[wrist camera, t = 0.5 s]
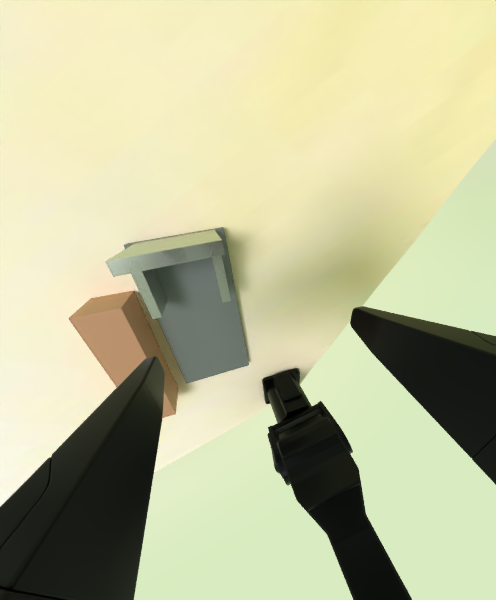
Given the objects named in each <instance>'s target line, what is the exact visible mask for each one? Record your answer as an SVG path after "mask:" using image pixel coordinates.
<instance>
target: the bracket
mask: <svg viewBox="0 0 496 600" xmlns="http://www.w3.org/2000/svg"><path fill="white" fill-rule="evenodd" d="M222 255H225V253H224V248H223V242H222V239H221V238H220V237H219V235H218V234H217V233H216V231H215V230H210V231H204V232H199V233H193V234H187V235H181V236H175V237H170V238H164V239H158V240H152V241H146V242H141V243H135V244H133V245H131V246H130V247H128V248H126V249H125V250H123V251H121V252H120V253H118V254H117V255H115V256H113V257H112V258H110V259H108V260H107V261H105V262H106V264H107V266H108V267H109V269H110V271H111V273H112V275H113V277H114V276H119V275H124V274H129V273H131V274H132V277H133V279H134V281H135V283H136V285H137V287H138V289H139V291H140V293H141V296H142V298H143V300H144V302H145V304H146V306H147V308H148V310H149V312H150V315H151V317H152V319H156V318H161V317H162V316H163V313H164V309H165V306H166V303H167V297H166V295H165V292H164V290H163V287H162V285H161V282H160V280H159V277H158V275H157V272H156V270H155V268H160V267H165V266H170V265H175V264H181V263H186V262H191V261H196V260H201V259H206V258H211V257H212V261H213V266H214V270H215V274H216V279H217V283H218V287H219V291H220V295H221V299H222V302H223V303H224V302H228V301H231V299H230V294H229V289H228V284H227V279H226V274H225V269H224V264H223V259H222Z"/></svg>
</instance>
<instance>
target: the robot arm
mask: <svg viewBox="0 0 496 600" xmlns="http://www.w3.org/2000/svg"><path fill="white" fill-rule="evenodd" d="M350 324H351V327H352V328H353V329H354V331H355V332H356V333H357V334H358V336H359V337H360V338H361V340H362V341H363V342H364V343H365V344H366V346H367V347H368V348H369V350H370V351H371V352H372V353H373V354H374V355H375V356H376V358H377V359H378V360H379V361H380V362H381V363H382V364H383V365H384V366H385V367H386V368H387V369H388V370H389V371H390V372H391V373H392V374H393V376H394V377H395V378H396V379H397V380H398V381H399V382H400V383H401V384H402V385H403V386H404V387H405V388H406V389H407V391H408V392H409V393H410V394H411V395H412V396H413V397H414V398H415V399H416V400H417V401H418V402H419V403H420V404H421V405H422V406H423V408H424V409H426V411H427V412H428V413H429V414H430V415H431V416H432V417H433V418H434V419H435V420H436V421H437V422H438V423H439V424H440V426H441V427H442V428H443V429H444V430H445V431H446V432H447V433H448V434H449V435H450V436H451V437H452V438H453V439H454V440H455V441H456V442H457V444H458V445H459V446H460V447H461V448H462V449H463V450H464V451H465V452H466V453H467V454H468V455H469V456H470V457H471V458H472V460H473V461H474V462H475V463H476V464H477V465H478V466H479V467H480V468H481V469H482V470H483V471H484V472H485V474H486V475H487V476H488V477H489V478H490V479H491V480H492V481H493V482H494V483H495V484H496V336H492V335H487V334H483V333H479V332H474V331H469V330H465V329H461V328H456V327H452V326H447V325H443V324H439V323H434V322H429V321H425V320H421V319H416V318H412V317H407V316H403V315H398V314H394V313H390V312H386V311H381V310H377V309H372V308H367V307H363V306H362V307H357V308H354V309H353V311H352V316H351V321H350ZM164 380H165V374H164V370H163V367H162V365H161V363H160V361H159V359H158V357H156V356H154V357H149V358H146V359H144V360H143V361H142V362H141V363H140V364H139V366H138V367H137V368H136V369H135V370H134V371H133V372H132V373H131V374H130V375H129V376H128V377H127V378H126V379H125V380H124V381H123V382H122V383H121V384H120V385H119V386H118V387H117V388H116V389H115V390H114V391H113V392H112V393H111V394H110V395H109V396H108V397H107V398H106V399H105V401H104V402H103V403H102V404H101V405H100V406H99V407H98V408H97V409H96V410H95V411H94V412H93V413H92V414H91V415H90V416H89V417H88V418H87V419H86V420H85V421H84V422H83V423H82V424H81V425H80V426H79V427H78V428H77V429H76V430H75V431H74V432H73V433H72V434H71V436H70V437H69V438H68V439H67V440H66V441H65V442H64V443H63V444H62V445H61V446H60V447H59V448H58V449H57V450H56V451H55V452H54V453H53V454H52V457H50V458H48V459H47V460H46V461H45V462H44V463H43V464H42V465H41V466H40V467H39V468H38V469H37V470H36V471H35V472H34V473H33V475H32V476H31V477H30V478H29V479H28V480H27V481H26V482H25V483H24V484H23V485H22V486H21V487H20V488H19V489H18V490H17V491H16V492H15V493H14V494H13V495H12V496H11V497H10V498H9V499H8V500H7V501H6V502H5V503H4V504H3V505H2V506H1V507H0V600H134V594H135V587H136V581H137V575H138V569H139V562H140V556H141V550H142V543H143V537H144V530H145V524H146V518H147V512H148V505H149V499H150V493H151V486H152V479H153V474H154V467H155V461H156V455H157V449H158V442H159V436H160V430H161V423H162V416H163V402H164ZM299 380H300V371H299V370H298V369H293V370H290V371H287V372H284V373H281V374H277V375H274V376H271V377H268V378H265V379H263V380H262V383H263V390H264V397H265V402H266V404H271V406H272V409H273V412H274V414H275V417H276V420H277V422H278V423H277V424H275V425H273V426H270V427H268V429H269V433H268V438H269V442H270V445H271V449H272V455H273V460H274V466H275V469H276V471H277V472H278V473H280V474H281V476H282V477H283V479H284V481H285V483H286V484H287V485H290V484H291V486H292V488H293V491H294V494H295V497H296V499H297V501H298V502H299V503H300V504H301V506H302V507H303V508H304V509H305V510H306V511H307V512H308V513H309V515H310V516H311V517H312V518H313V519H314V520H315V521H316V522H317V523H318V525H319V526H320V527H321V528H322V529H323V530H324V531H325V532H326V534H327V535H328V537H329V540H330V542H331V545H332V547H333V550H334V552H335V555H336V557H337V560H338V562H339V565H340V567H341V570H342V572H343V575H344V577H345V579H346V582H347V585H348V587H349V590H350V592H351V595H352V597H353V600H412V599H411V597H410V595H409V593H408V591H407V589H406V588H405V586H404V584H403V582H402V580H401V579H400V576H399V575H398V573H397V571H396V569H395V567H394V565H393V564H392V562H391V560H390V558H389V556H388V554H387V553H386V551H385V549H384V547H383V545H382V543H381V542H380V540H379V538H378V536H377V534H376V532H375V531H374V528H373V527H372V525H371V523H370V521H369V520H368V517H367V515H366V513H365V506H364V500H363V493H362V487H361V481H360V475H359V469H358V467H357V465H356V464H355V462H354V460H353V458H352V457H351V455H350V454H351V453H352V452H353V451H352V448H351V446H350V444H349V442H348V440H347V438H346V436H345V435H344V433H343V431H342V430H341V428H340V426H339V425H338V424H337V422H336V421H335V419H334V418H333V417H332V415H331V414H330V413H329V411H328V410H327V409H326V407H325V406H324V404H323V403H322V402H321V401H320V402H319V403H318V404H316V405H314V406H311V404H310V402H309V401H308V399H307V397H306V395H305V394H304V392H303V390H302V388H301V387H300V385H299Z"/></svg>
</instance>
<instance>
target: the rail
mask: <svg viewBox="0 0 496 600" xmlns="http://www.w3.org/2000/svg"><path fill="white" fill-rule="evenodd" d="M68 319H69V320H70V322H71V323H72V324H73V326H74V327H75V329H76V330H77V332H78V333H79V334H80V336H81V337H82V339H83V340H84V341H85V343H86V344H87V346H88V347H89V349H90V350H91V351H92V353H93V354H94V356H95V357H96V358H97V360H98V361H99V363H100V364H101V366H102V367H103V368H104V370H105V371H106V373H107V374H108V375H109V377H110V378H111V380H112V381H113V383H114V384H115V385H116V387H118V386H119V385H120V384H121V383H122V382H123V381H124V380H125V379H126V378H127V377H128V376H129V375H130V374H131V373H132V372H133V371H134V370H135V369H136V368H137V367H138V366H139V364H140V363H141V362H142V361H143V360H144V359H146V358H149V357H154V356H156V357H158V359H159V361H160V363H161V365H162V367H163V370H164V374H165V380H164V402H163V416H162V418H164V417H167V416H170V415H174V414H176V406H177V396H178V387H177V385H176V383H175V381H174V378H173V376H172V374H171V372H170V370H169V367H168V365H167V363H166V361H165V359H164V356H163V354H162V352H161V350H160V348H159V345H158V343H157V341H156V339H155V336H154V334H153V332H152V330H151V328H150V325H149V323H148V321H147V319H146V317H145V314H144V312H143V310H142V308H141V305H140V303H139V301H138V299H137V297H136V294H135V292H134V291H129V292H124V293H118V294H113V295H107V296H102V297H97V298H91V299H90V300H89V301H88V302H86V303H85V304H84V305H83V306H82V307H81V308H80V309H79V310H77V311H76V312H75V313H74V314H73V315H72V316H71V317H69V318H68Z"/></svg>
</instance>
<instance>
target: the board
mask: <svg viewBox="0 0 496 600" xmlns="http://www.w3.org/2000/svg"><path fill="white" fill-rule="evenodd" d="M210 230H215V231H216V233H217V234H218V235H219V237H220V238H221V239H222V242H223V248H224V253H225V255H222V259H223V264H224V269H225V274H226V279H227V284H228V289H229V294H230V299H231V301H228V302H224V303H223V302H222V299H221V295H220V291H219V287H218V283H217V279H216V274H215V270H214V266H213V261H212V257H211V258H206V259H201V260H196V261H191V262H186V263H181V264H175V265H170V266H165V267H160V268H155V270H156V272H157V275H158V277H159V280H160V282H161V285H162V287H163V290H164V292H165V295H166V297H167V303H166V306H165V309H164V313H163V316H162V317H161V318H157V319H158V322H159V324H160V326H161V328H162V330H163V333H164V335H165V337H166V339H167V341H168V343H169V346H170V348H171V350H172V352H173V354H174V357H175V359H176V361H177V363H178V365H179V368H180V370H181V372H182V374H183V376H184V378H185V381H186V383H190V382H193V381H197V380H200V379H203V378H207V377H210V376H214V375H217V374H220V373H224V372H227V371H230V370H234V369H237V368H241V367H244V366H247V365H249V363H248V357H247V352H246V346H245V341H244V336H243V330H242V325H241V319H240V314H239V308H238V303H237V298H236V292H235V287H234V281H233V276H232V270H231V265H230V259H229V254H228V249H227V243H226V238H225V232H224V228H223V227H221V228H216V229H210ZM210 230H204V231H210ZM204 231H198V232H192V233H187V234H193V233H199V232H204ZM187 234H181V235H187ZM181 235H175V236H181ZM175 236H169V237H163V238H157V239H152V240H158V239H164V238H170V237H175ZM152 240H146V241H152ZM146 241H140V242H134V243H128V244H125V245H124V247H125V249H126V248H128V247H130V246H131V245H133V244H135V243H141V242H146Z"/></svg>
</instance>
